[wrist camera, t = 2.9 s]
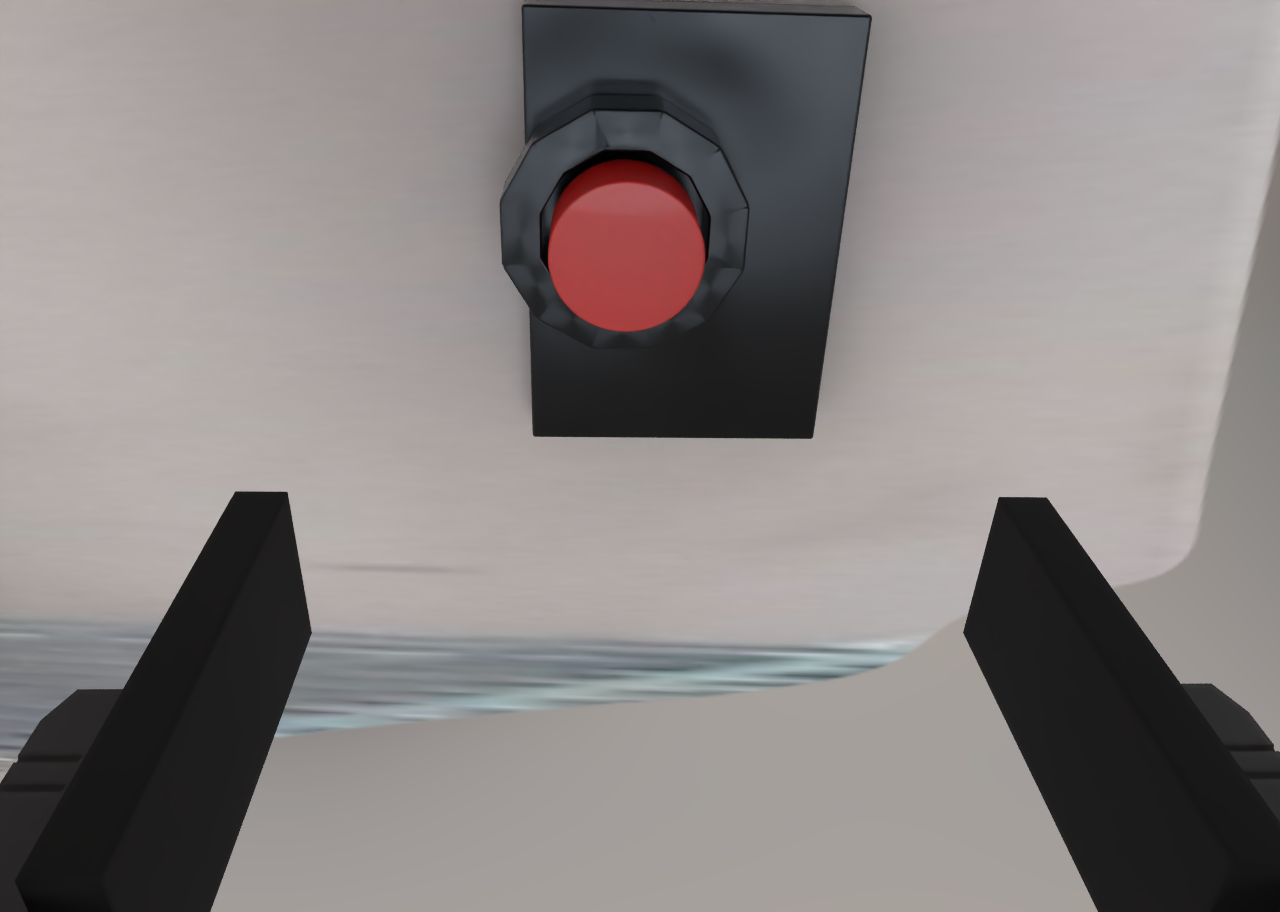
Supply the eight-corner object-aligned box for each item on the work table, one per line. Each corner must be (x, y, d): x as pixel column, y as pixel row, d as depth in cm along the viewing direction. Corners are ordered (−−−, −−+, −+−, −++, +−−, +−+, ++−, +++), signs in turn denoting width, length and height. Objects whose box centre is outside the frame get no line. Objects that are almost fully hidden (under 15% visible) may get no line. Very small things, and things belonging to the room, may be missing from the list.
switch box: (503, -6, 29) (491, 12, 26) (856, 6, 30) (891, 24, 27) (517, 410, 37) (510, 467, 33) (802, 413, 37) (824, 468, 34)
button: (549, 156, 28) (546, 179, 26) (702, 159, 29) (710, 182, 27) (551, 300, 31) (548, 331, 29) (693, 302, 31) (700, 333, 29)
